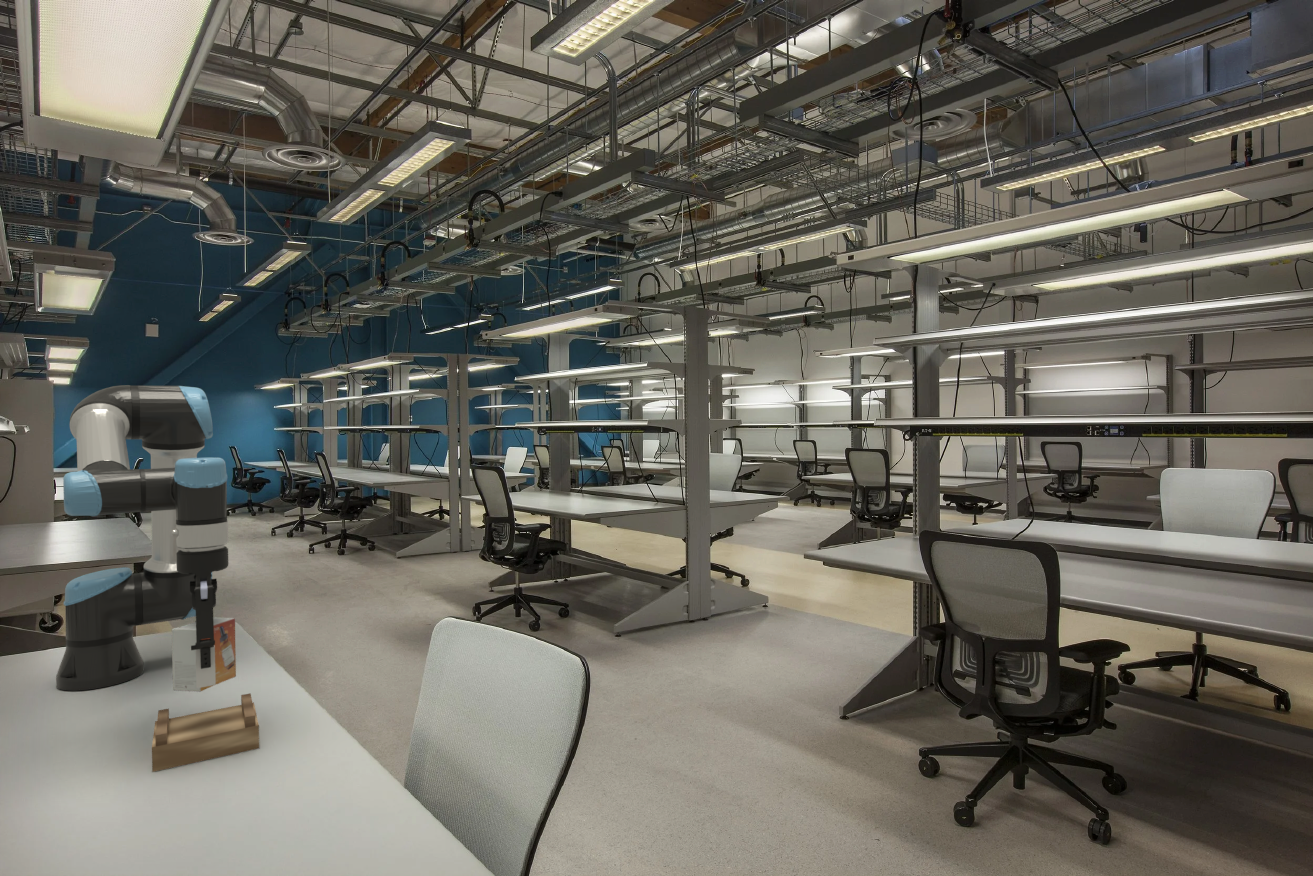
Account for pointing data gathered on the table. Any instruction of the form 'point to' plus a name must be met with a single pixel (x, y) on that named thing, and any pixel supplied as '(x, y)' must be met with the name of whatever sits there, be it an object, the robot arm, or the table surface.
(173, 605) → the robot arm
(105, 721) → the table surface
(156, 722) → the wooden tray
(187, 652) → the small box
